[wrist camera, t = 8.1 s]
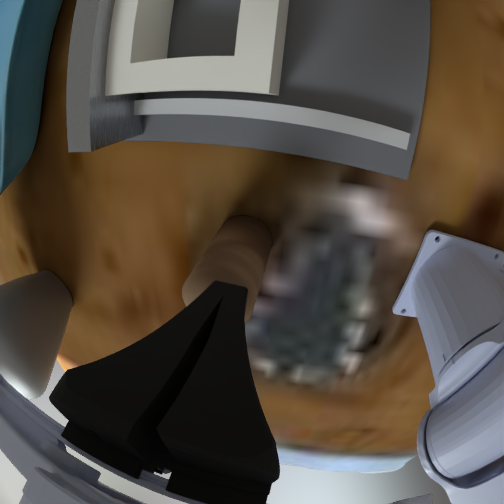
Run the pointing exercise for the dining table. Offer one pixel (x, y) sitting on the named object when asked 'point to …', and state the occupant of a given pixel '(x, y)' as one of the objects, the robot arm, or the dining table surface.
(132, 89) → the sliding block
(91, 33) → the stop wall
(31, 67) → the casserole dish
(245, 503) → the robot arm
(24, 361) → the vase
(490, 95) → the dining table surface
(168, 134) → the slide board
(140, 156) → the dining table surface
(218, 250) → the dowel
